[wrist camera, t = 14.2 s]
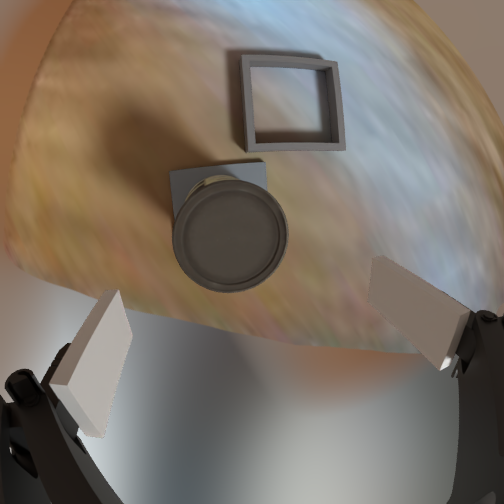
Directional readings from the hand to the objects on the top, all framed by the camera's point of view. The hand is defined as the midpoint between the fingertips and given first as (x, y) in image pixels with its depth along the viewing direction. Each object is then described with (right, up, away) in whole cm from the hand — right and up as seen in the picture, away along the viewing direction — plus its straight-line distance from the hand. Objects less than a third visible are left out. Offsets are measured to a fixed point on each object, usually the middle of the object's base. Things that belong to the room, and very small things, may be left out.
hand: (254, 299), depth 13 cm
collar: (+5, +23, +21) cm, 32 cm away
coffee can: (-4, +8, +24) cm, 25 cm away
